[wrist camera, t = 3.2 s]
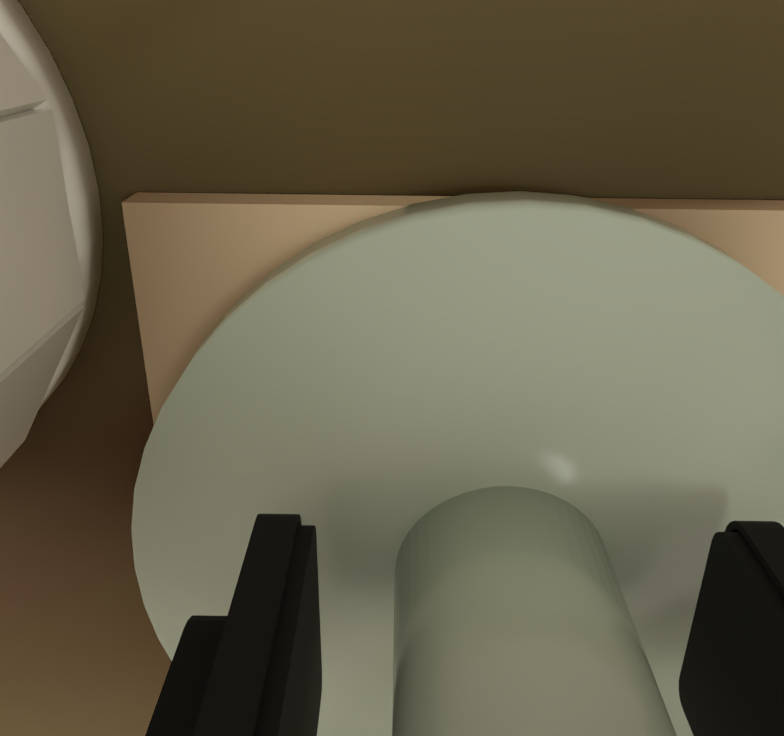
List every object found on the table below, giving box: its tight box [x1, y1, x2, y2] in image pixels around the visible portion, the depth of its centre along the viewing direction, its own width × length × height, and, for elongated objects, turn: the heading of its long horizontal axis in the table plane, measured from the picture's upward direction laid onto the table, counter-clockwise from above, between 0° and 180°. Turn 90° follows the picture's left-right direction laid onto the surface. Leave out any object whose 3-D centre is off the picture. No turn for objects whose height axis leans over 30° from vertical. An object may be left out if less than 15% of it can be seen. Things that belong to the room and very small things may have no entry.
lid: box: [131, 191, 784, 736], centre depth 9 cm, size 10×10×5 cm
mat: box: [121, 192, 784, 425], centre depth 12 cm, size 10×10×1 cm
